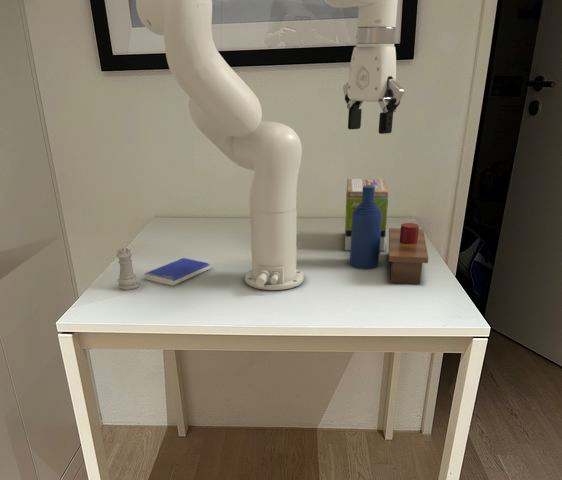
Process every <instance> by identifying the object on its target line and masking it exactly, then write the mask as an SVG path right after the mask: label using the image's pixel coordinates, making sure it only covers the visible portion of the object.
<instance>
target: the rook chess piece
mask: <svg viewBox="0 0 562 480" xmlns="http://www.w3.org/2000/svg"><path fill="white" fill-rule="evenodd" d="M116 252H117V253H116V254H115V256H116V257H117V258H118V264H119V276H118V278H117V283H118V284H117V287H118V288H119V289H120V290H123V291H131V290H135V289H137V288H138V287H139V286H140V282H139V278H138V276H137V274H136V273H135V271H134V268H133V260H132V255H133V253H132V252H131V249H130V248H128V247H127V248H124V247H123V248H121V249H120V248H118V249H117V251H116Z"/></svg>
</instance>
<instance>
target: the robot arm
mask: <svg viewBox="0 0 562 480" xmlns="http://www.w3.org/2000/svg"><path fill="white" fill-rule="evenodd" d="M323 1H324V2H325V4H327V5H329V6H330V7H331V8H336V9H344V8H345V9H346V8H355V7H357V8H358V9H357V11H358V12H357V25H356V26H357V28H356V36H355V39H356V43H355V46H354V47H353V50H352V54H351V59H350V65H349V72H348V80H347V81H348V82H347V83H346V84H344V85H343V87H342V92H343V94H344V101H345V103H346V108H347V110H348V117H347V129H348V130H359V129H361V125H362V109H363V108H360V107H361V106H362V104H363V103H364V102H367V103H376V102H378V104H379V106H380V109H381V111H382V112H379V118H378V119H379V121H378V134H379V135H380V134H381V135H386V134H392V132H393V121H394V113H396V112H397V108H398V107H399V106H400V104H401V100H402V98H403V96H404V93H405V89H404V88H403V86H401V85H400V84H399V83H398V82H397V52H396V46H395V39H396V26H397V16H398V15H397V14H398V3H399V0H323ZM135 9H136V13H137V15H138V18H139V20H140V21H141V24H142V25H143V26H144V27H145V28H146V29H147V30H149V31H150V32H152V33H153V34H156V35H159V36H163V41H164V49H165V57H166V63H167V65H168V69H169V71H170V73H171V75H172V77H173V78H174V80H175V82H176V83H177V84H178V86H179V87H180V88H181V89H182V90H183V91H184V93H185V94H186V95H187V96H188V98H189V100H188V109H189V114H190V117H191V119H192V122H193V123H194V125H195V127H196V128H197V129H198V130H199V131H200V132H201V133H202V134H203V136H205V137H206V138H207V139H208V140H209V141H210V142H211V143H212V144H213V145H214V146H216V148H217V149H218V150H219V151H220V152H222V154H224V156H226V157H227V158H228V159H229V160H230V161H232V162H233V163H234V164H236V165H237V166H238V167H241V168H244V169H247V170H250V171H254V174H253V179H252V182H251V185H250V190H249V217H250V219H249V220H250V244H251V245H250V247H251V250H250V251H251V270H250V271H248V272H247V273H246V274H245V277H244V279H245V283H246V284H247V285H248V286H250V287H252V288H255V289H259V290H265V291H283V290H289V289H293V288H296V287H298V286H300V285H301V284H302V283H303V282H304V280H305V279H304V278H305V277H304V276H305V275H304V273H303V272H302V271H301V270H299V269H297V234H298V233H297V227H298V226H297V223H298V222H297V220H298V219H297V218H298V217H297V214H298V212H297V208H298V207H297V206H298V205H297V204H298V203H297V200H298V199H297V197H298V194H297V193H298V180H299V179H298V178H299V173H300V167H301V162H302V155H303V148H302V141H301V139H300V137H299V136H298V134H297V132H296V131H295V130H294V129H293V128H292V127H290V126H289V125H287V124H285V123H282V122H277V121H270V120H262V118H263V111H262V110H263V109H262V105H261V103H260V100H259V98H258V96H257V95H256V94H255V92H254V91H253V90H252V89H251V88H250V87H249V86H248V84H247V83H246V82H245V81H243V79H242V78H241V77H240V76H239V75H238V74H237V72H236V71H235V70H234V69H233V68H232V67H231V66H230V65H229V64H228V62H227V61H226V59H224V57H223V56H222V55H221V54H220V52H219V51H218V49H217V47H216V44H215V42H214V37H213V29H212V26H213V25H212V24H213V23H212V22H213V0H135Z"/></svg>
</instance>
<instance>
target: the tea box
mask: <svg viewBox="0 0 562 480" xmlns="http://www.w3.org/2000/svg"><path fill="white" fill-rule="evenodd" d="M368 185H369V186H375V193H374V202H375V203H376V205H377V206H378V207H379V209H381V212H382V224H381V237H380V250H379V252H383V251H385V247H386V233H387V217H388V203H389V190H388V187H387V183H386V180H385V178H347V180H346V193H345V221H344V222H345V225H344V226H345V227H344V240H345V241H344V250H345V251H347V252H348V251H349V252H350V250H351V230H352V212H353V211H354V209H355V208H356V207H357V206H358V205H359V204H360V203H361V202H362V194H363V189H362V188H363V186H368Z"/></svg>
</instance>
